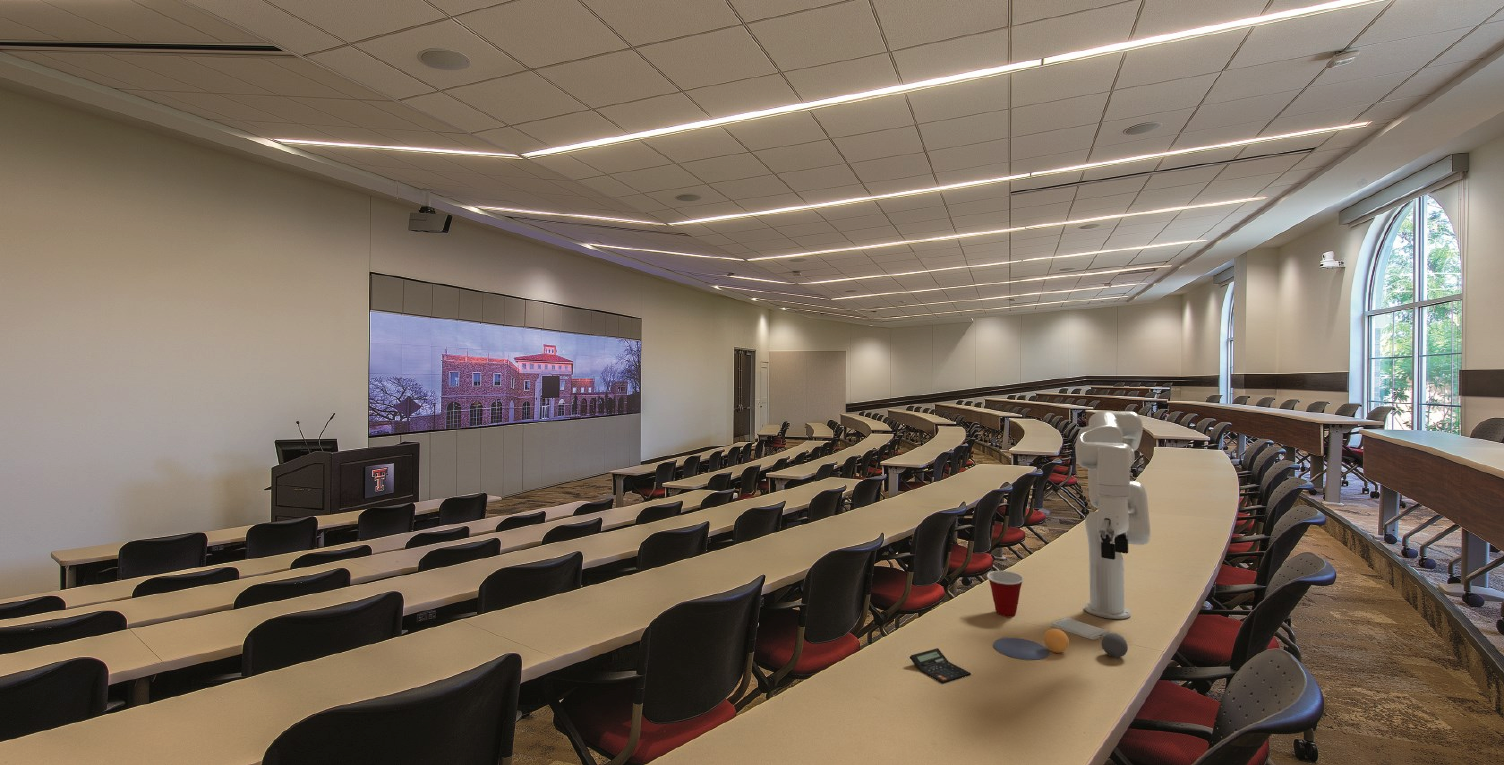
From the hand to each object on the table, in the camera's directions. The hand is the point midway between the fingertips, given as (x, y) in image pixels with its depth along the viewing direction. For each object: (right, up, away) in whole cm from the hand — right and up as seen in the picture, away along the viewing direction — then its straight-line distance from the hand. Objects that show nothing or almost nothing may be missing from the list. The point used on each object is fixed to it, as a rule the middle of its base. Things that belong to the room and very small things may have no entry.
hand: (1115, 555), depth 166 cm
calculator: (-50, -27, -9) cm, 57 cm away
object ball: (-15, -23, +1) cm, 28 cm away
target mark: (-24, -26, +3) cm, 36 cm away
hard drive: (-1, -27, +16) cm, 31 cm away
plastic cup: (-17, -27, +29) cm, 43 cm away
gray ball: (-2, -23, -2) cm, 23 cm away
